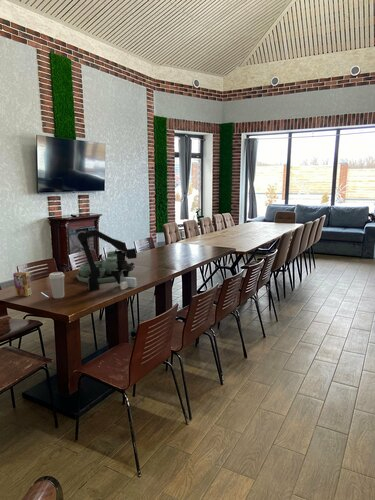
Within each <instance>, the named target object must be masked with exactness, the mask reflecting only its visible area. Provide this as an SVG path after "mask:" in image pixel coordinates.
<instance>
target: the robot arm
mask: <svg viewBox="0 0 375 500" xmlns="http://www.w3.org/2000/svg"><path fill="white" fill-rule="evenodd" d="M76 236H77V239H78V241H79V243H80V245H81V246H82V248H83V251H84V254H85V257H86V260H87V262H88V263H87V264H89V266H90V274H89V276H88V281H87V282H88V283H87V291H89V292H93V291H97V290H100V283H99V282H98V280H97V279H98V278H99V276H100V273H101V272H100V270H99V266H98V265H97V266H96V265H95V263H94V262H95V260H94V258H93V255H92V252H91V249H90V246H89V242H88V239H91V238H92V237H97V238H99V239H100V240H103V241H105V242H106V243H109V244H110V245H112V246H113V248H115V250H113V251H114V252H113V253H114V254H116V256H117V261H116V263H117V268H116V269H118V270H112V271H111V275H112V276H114V278H115V279H116V281H115V282H116V283H117V285H119V284H120V276H121V275H122V274H121V273H122V272H123V275H124V277H129V276H128V274H129V272H130V273H131V272H132V271H133V270H134V268H135V263H134V262H131V263H128V261H127V260H126V259H128V260H131V259H137V257H138V255H137V252H136V248H135V247H134V248H127V247H126V244H125V242H123V241H122V240H119V239H116V238H113V237H111V236H109V235H107V234H105V233H104V232H101V231H99V230H98V229H96V228H94V229H90V230H85V231H83V230H80V231H79V232H77V235H76Z"/></svg>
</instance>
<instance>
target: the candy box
mask: <svg viewBox="0 0 375 500" xmlns="http://www.w3.org/2000/svg"><path fill="white" fill-rule="evenodd" d="M12 275H13V283H14V292H15V297H16V296H26V297H30V296H32V295H31V294H33V293H32V285H31V277H30V271H16V272H13V274H12ZM29 295H30V296H29Z"/></svg>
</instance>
